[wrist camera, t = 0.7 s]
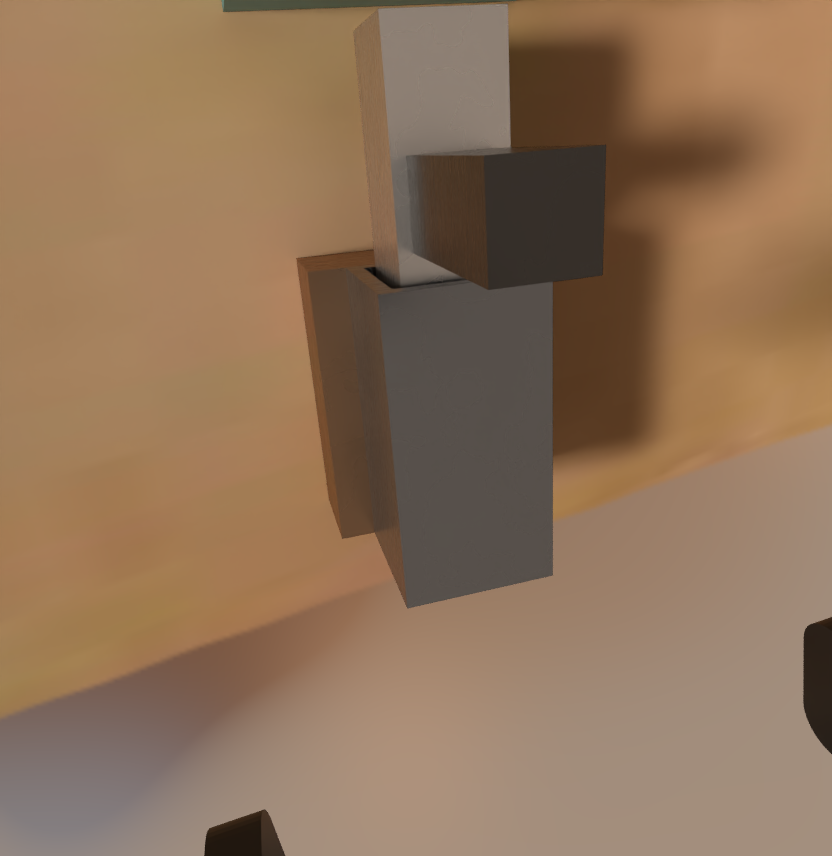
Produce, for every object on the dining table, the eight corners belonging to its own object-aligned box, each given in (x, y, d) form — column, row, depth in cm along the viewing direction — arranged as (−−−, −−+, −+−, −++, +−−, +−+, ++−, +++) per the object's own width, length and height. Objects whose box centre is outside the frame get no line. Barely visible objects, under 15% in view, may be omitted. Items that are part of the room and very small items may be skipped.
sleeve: (496, 468, 37) (586, 567, 28) (329, 500, 35) (368, 617, 26) (489, 236, 33) (593, 267, 24) (296, 258, 31) (330, 300, 22)
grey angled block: (481, 441, 31) (609, 577, 21) (393, 457, 30) (482, 607, 20) (464, 25, 25) (632, -61, 15) (353, 30, 24) (452, -58, 14)
